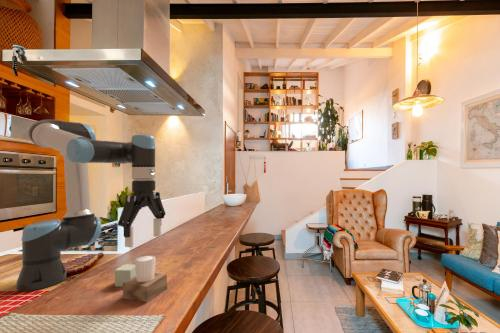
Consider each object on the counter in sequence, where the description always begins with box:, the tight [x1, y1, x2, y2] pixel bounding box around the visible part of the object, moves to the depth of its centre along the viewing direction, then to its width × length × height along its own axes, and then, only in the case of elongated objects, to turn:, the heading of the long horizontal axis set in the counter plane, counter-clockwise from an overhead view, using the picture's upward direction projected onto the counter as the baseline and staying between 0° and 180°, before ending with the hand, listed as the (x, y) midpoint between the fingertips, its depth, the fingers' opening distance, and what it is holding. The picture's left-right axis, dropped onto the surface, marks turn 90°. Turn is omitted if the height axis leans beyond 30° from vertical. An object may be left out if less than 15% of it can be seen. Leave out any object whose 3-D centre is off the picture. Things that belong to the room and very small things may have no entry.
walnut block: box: [122, 272, 168, 303], centre depth 90 cm, size 10×10×5 cm
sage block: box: [114, 263, 136, 287], centre depth 99 cm, size 6×6×6 cm
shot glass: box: [134, 255, 157, 282], centre depth 90 cm, size 7×7×7 cm
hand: (144, 241), depth 91 cm, fingers open, 13 cm apart
